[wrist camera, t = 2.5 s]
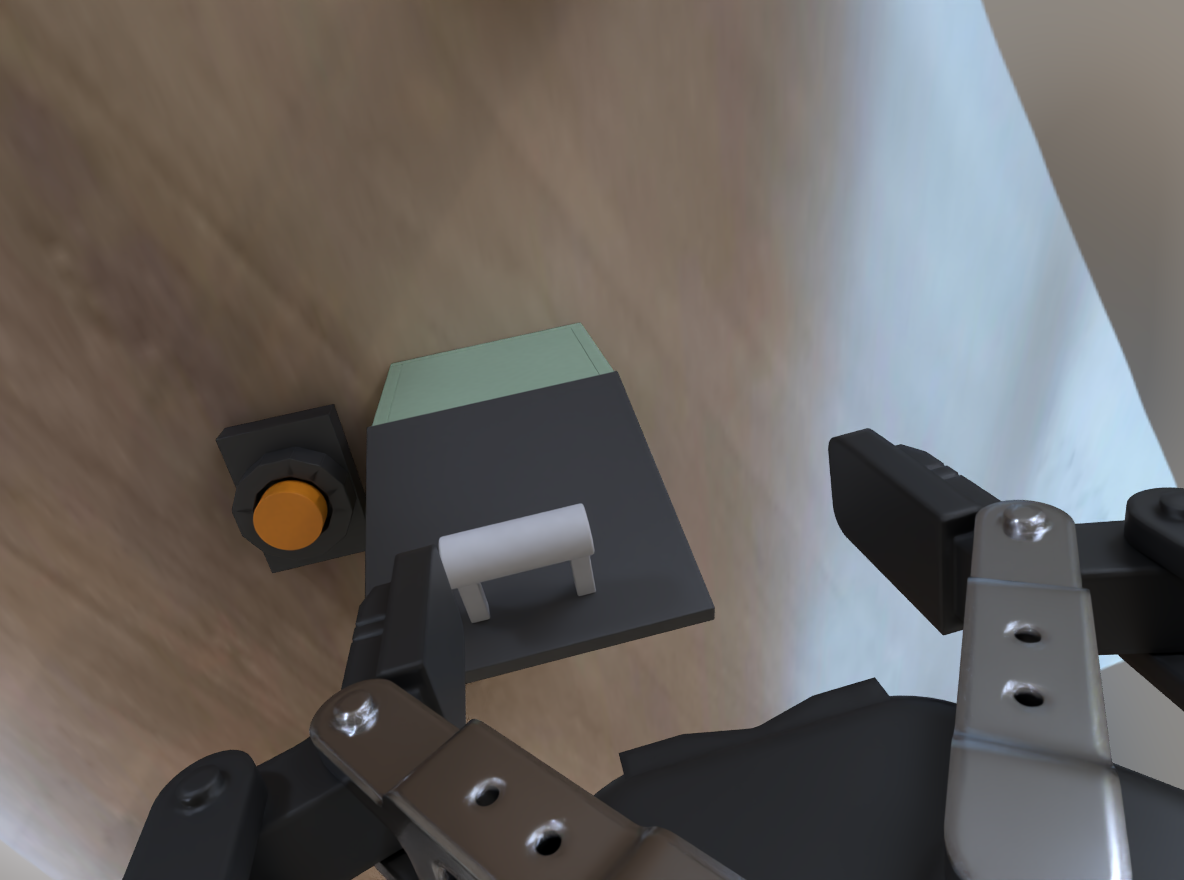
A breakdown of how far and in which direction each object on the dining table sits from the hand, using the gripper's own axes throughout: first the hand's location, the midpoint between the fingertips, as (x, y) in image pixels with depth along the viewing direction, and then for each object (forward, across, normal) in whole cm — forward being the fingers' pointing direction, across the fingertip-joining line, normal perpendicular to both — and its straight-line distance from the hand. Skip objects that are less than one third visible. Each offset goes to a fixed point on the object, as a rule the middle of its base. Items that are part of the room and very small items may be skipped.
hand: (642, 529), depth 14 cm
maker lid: (+15, +3, +7) cm, 17 cm away
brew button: (+31, +17, +11) cm, 37 cm away
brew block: (+34, +17, +11) cm, 40 cm away
